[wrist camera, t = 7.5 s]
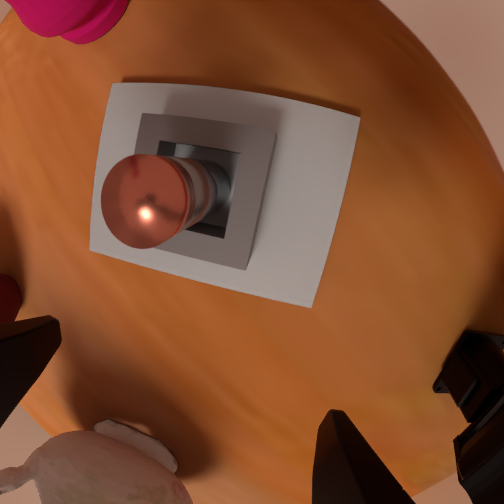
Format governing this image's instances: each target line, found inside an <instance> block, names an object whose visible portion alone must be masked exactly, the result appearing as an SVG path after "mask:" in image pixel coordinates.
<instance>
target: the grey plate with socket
mask: <svg viewBox="0 0 504 504" xmlns="http://www.w3.org/2000/svg"><path fill="white" fill-rule="evenodd" d="M359 123H360V117H357V116H353V115H350V114H347V113H343V112H340V111H336V110H333V109H329V108H325V107H321V106H318V105H314V104H309V103H305V102H301V101H296V100H292V99H287V98H282V97H277V96H272V95H267V94H261V93H255V92H249V91H242V90H235V89H227V88H219V87H210V86H199V85H187V84H170V83H113V84H112V88H111V91H110V96H109V100H108V104H107V108H106V113H105V118H104V122H103V128H102V133H101V138H100V144H99V150H98V157H97V164H96V171H95V179H94V188H93V198H92V210H91V226H90V251H93V252H97V253H100V254H103V255H107V256H110V257H113V258H117V259H120V260H123V261H127V262H130V263H134V264H137V265H141V266H144V267H148V268H151V269H155V270H159V271H162V272H166V273H170V274H173V275H177V276H181V277H184V278H188V279H192V280H196V281H200V282H203V283H207V284H211V285H215V286H219V287H223V288H227V289H231V290H235V291H239V292H243V293H247V294H252V295H256V296H260V297H264V298H269V299H273V300H277V301H282V302H286V303H290V304H295V305H299V306H304V307H309V308H311V307H312V304H313V301H314V298H315V295H316V292H317V288H318V285H319V282H320V279H321V275H322V272H323V269H324V265H325V262H326V259H327V255H328V252H329V248H330V245H331V241H332V238H333V234H334V230H335V227H336V223H337V219H338V215H339V211H340V208H341V204H342V200H343V196H344V192H345V187H346V183H347V179H348V175H349V170H350V166H351V162H352V157H353V152H354V148H355V143H356V138H357V133H358V128H359ZM135 154H148V155H160V156H172V157H182V158H191V159H200V160H209V161H213V162H216V163H217V164H219V165H220V166H222V167H223V168H224V169H225V171H226V172H227V174H228V175H229V178H230V182H231V193H230V196H229V199H228V201H227V202H226V204H225V205H224V206H223V207H222V208H221V209H219V210H218V211H216V212H214V213H212V214H211V215H209V216H207V217H206V218H204V219H202V220H200V221H199V222H197V223H195V224H193V225H192V226H190V227H188V228H187V229H185V230H183V231H182V232H180V233H178V234H177V235H175V236H173V237H172V238H170V239H168V240H167V241H165V242H163V243H162V244H160V245H158V246H156V247H153V248H149V249H137V248H132V247H129V246H127V245H125V244H123V243H122V242H120V241H119V240H118V239H117V238H116V237H115V236H114V235H113V234H112V233H111V231H110V230H109V229H108V227H107V225H106V223H105V220H104V218H103V214H102V210H101V191H102V186H103V183H104V181H105V178H106V176H107V174H108V173H109V171H110V170H111V169H112V167H113V166H114V165H115V164H116V163H118V162H119V161H120V160H122V159H124V158H126V157H128V156H131V155H135Z"/></svg>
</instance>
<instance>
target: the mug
mask: <svg viewBox="0 0 504 504" xmlns="http://www.w3.org/2000/svg"><path fill="white" fill-rule="evenodd" d="M21 302H22V301H21V294H20V291H19V289H18V286H17V284H16V283H15V281H14V280H13V279H12V278H11V277H10V276H9V275H6V274H1V273H0V324H3V323H8V322H14V321H15V319H16V317H17V314H18V312H19V310H20V307H21Z"/></svg>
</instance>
